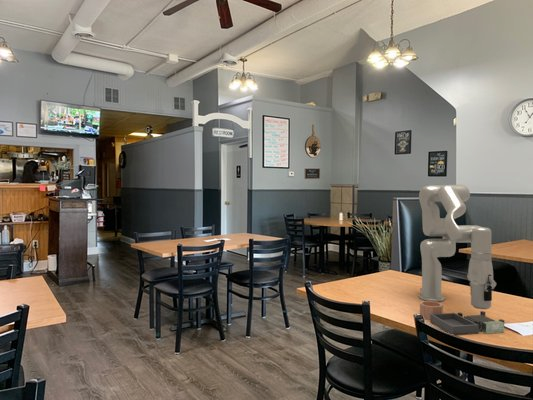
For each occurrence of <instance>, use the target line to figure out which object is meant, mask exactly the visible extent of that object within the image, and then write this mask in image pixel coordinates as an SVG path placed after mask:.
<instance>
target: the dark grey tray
mask: <svg viewBox="0 0 533 400" xmlns="http://www.w3.org/2000/svg"><path fill="white" fill-rule="evenodd" d="M429 322H430V323H431V324H432V325H434V326H435V327H438V328H439V329H441V330H443V331H444V332H446V333H448V332H449V333H451V334H454V335H453V336H463V335H477V334H479V333H480V332H479V325H478V324H476V323H474V322H472V321H470V320H468V319H466V318H464V316H463V317H462V316H460V315H458V313H455V312H446V313H445V312H443V314H430V320H429ZM449 333H448V334H449ZM451 334H450V335H451Z"/></svg>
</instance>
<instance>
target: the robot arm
mask: <svg viewBox="0 0 533 400" xmlns="http://www.w3.org/2000/svg"><path fill="white" fill-rule="evenodd" d="M470 198H471V192H470V190H469V188H468V187H467V186H466V185H463V184H441V185H440V184H435V185H425V186H423V187H422V188H420V190H419V195H418V200H419V204H420V208H421V211H422V212H421V217H422V220H421V222H422V223H421V224H422V232H423V234H424V236H426V237H427V236H428V237H442V238H427V239H424V240H422V241H421V242H420V246H419V247H420V255H421V256H420V257H421V288H420V289H419V291H421V293H419V294H418V298H419V299H420V300H422V301H433V302H438V303H440V302H443V301H445V299H446V298H445V296H443V295H442V275H443V274H442V271H443V269H442V264H441V262H440V260H439V259H438V258H447V257H448V258H450V257H452V256H455V253H456V252H457V251H456V249H457V247H456V245H457V243H470V244H471V245H470V246H471V247H470V259H469V263H468V269H467V270H468V273H467V274H466V277H467V279H468V282H469V286H470V287H471V282H472V281H474V280H477V281H476V282H477V283H478V284H480V285H484V289H485V291H484V301H491V302H492V300H493V295H492V294H493V292H494V289H495V287H496V286H497V282H496V281H495V280H494V270H493V269H494V268H493V263H492V229H490V227H483V226H480V225H473V224H472V225H470V224H469V225H466V224H465V225H464V224H463V225H458V224H457V223H456V221H455V220H456V219H457V218H459V217H461V216H463V215H464V214H465V213H466V212H467V206H466V204H465V203H466V202H467V201H468V200H469V199H470ZM435 202H436V203H437V202H441V205H442V206H443V208H444V210H445V212H446V213H447V214H446V215H445V217H444V218H443V217H442V218H441V217H440V216H441V215H440V208H439V207H438V205H437V204H436V203H435ZM473 279H474V280H473ZM486 283H488V284H486ZM487 285H489V287H488V288H487Z"/></svg>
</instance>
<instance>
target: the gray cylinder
mask: <svg viewBox="0 0 533 400" xmlns="http://www.w3.org/2000/svg"><path fill="white" fill-rule="evenodd" d="M473 280H474V279H473ZM476 281H477V280H474V281H472V282H471V286H470V305H471V306H472V307H473V308H475V309H478V310H489V309H490V308H491V307H492V300H491V301H484V291H485V289H484V285H480V284H478V283H477V282H476ZM486 284H488V283H486ZM488 287H489V285H487V288H488Z"/></svg>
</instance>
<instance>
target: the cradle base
mask: <svg viewBox="0 0 533 400" xmlns="http://www.w3.org/2000/svg"><path fill="white" fill-rule="evenodd" d="M479 312H480V313H479V315H484V316H486V311H485V310H480V311H479ZM457 314H458V315H460V316H462V317H464V314H463V312H457ZM475 323H476V324H478V325H479V333H480V332H482V333H483V334H487V335H489V334H500V333H501V334H503V333H505V320H504V319H501V318H500V319H498V320H495V321H489V322H482V328H480V322H479V321H475Z"/></svg>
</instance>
